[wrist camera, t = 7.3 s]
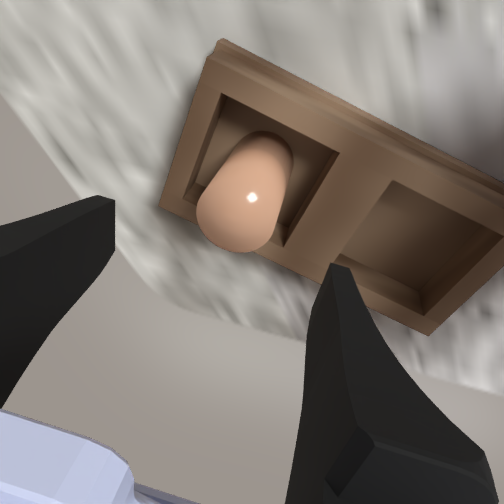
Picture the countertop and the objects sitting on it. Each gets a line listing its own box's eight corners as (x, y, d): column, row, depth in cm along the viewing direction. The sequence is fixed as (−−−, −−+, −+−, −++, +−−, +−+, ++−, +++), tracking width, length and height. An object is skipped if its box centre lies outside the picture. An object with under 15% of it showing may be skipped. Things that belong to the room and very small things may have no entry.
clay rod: (300, 139, 19) (283, 193, 14) (285, 195, 21) (265, 260, 16) (239, 123, 19) (200, 171, 14) (229, 180, 21) (192, 241, 16)
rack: (527, 195, 19) (552, 227, 17) (421, 304, 24) (429, 341, 22) (223, 38, 18) (203, 47, 16) (173, 183, 23) (152, 207, 21)
